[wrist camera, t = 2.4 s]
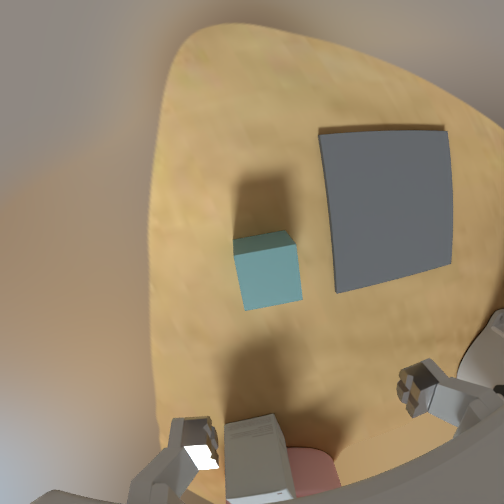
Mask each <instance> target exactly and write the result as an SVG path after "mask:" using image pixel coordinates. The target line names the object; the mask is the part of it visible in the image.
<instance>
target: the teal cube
mask: <svg viewBox="0 0 504 504" xmlns="http://www.w3.org/2000/svg"><path fill="white" fill-rule="evenodd" d="M233 253H234V260H235V265H236V270H237V275H238V280H239V285H240V290H241V295H242V299H243V304H244V309H245V311H247V310H253V309H258V308H263V307H269V306H274V305H279V304H284V303H289V302H294V301H299V300H303V299H302V290H301V281H300V272H299V264H298V256H297V248H296V244H295V242H294V241H293V240H292V238H291V237H290V236H289V235H288V233H287V232H286V231H285V230H283V231H278V232H272V233H267V234H261V235H256V236H250V237H245V238H239V239H234V240H233Z"/></svg>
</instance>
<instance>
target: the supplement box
mask: <svg viewBox="0 0 504 504" xmlns="http://www.w3.org/2000/svg"><path fill="white" fill-rule="evenodd" d="M224 443H225V487H226V500H227V501H229V502H230V503H231V504H265V503H272V502H278V501H284V500H289V499H295V498H296V492H295V487H294V482H293V478H292V473H291V468H290V463H289V458H288V453H287V448H286V443H285V438H284V436H283V433H282V431H281V429H280V426H279V424H278V422H277V420H276V417H275V415H274V414H269V415H265V416H261V417H256V418H252V419H247V420H242V421H238V422H232V423H228V424H225V425H224Z"/></svg>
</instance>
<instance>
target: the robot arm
mask: <svg viewBox="0 0 504 504" xmlns="http://www.w3.org/2000/svg"><path fill="white" fill-rule="evenodd" d="M399 377H400V381H399V382H398V383H397V395H398V397H399V399H400V401H401V402H402V403H405V404H407V405H406V410H407V411H408V413H409V414H410V416H411V417H412V418H414V417H417V416H419V415H421V414H424V413H426V412H428V413H430V414H432V415H434V416H436V417H438V418H440V419H442V420H444V421H446V422H448V423H450V424H452V425H454V426H456V427H458V428H457V430H456V432H455V434H454V436H453V439H451V440H450V441H448V442H446V443H444V444H443V445H441V446H439V447H437V448H435V449H433V450H431V451H429V452H428V453H426V454H424V455H422V456H419V457H417V458H415V459H413V460H411V461H409V462H407V463H404V464H402V465H400V466H398V467H395V468H393V469H390V470H388V471H385V472H383V473H380V474H378V475H375V476H372V477H370V478H367V479H364V480H361V481H358V482H355V483H352V484H349V485H346V486H342V487H339V488H336V489H332V490H329V491H325V492H321V493H317V494H313V495H309V496H304V497H299V498H295V499H289V500H284V501H278V502H272V503H265V504H504V309H500V310H497V311H496V312H495V313H494V314H493V315H492V317H491V319H490V321H489V322H488V324H487V326H486V327H485V329H484V330H483V331H482V332H481V334H480V335H479V336H478V337H477V338H476V340H475V341H474V342H473V344H472V345H471V346H470V348H469V349H468V351H467V353H466V354H465V356H464V358H463V360H462V362H461V364H460V367H459V369H458V373H457V378H453V377H450V378H448V376H447V375H446V374H445V373H444V372H443V371H442V370H441V369H440V368H439V367H438V366H437V365H436V363H435V362H434V361H433V360H432V359H430V358H428V359H426V360H423V361H421V362H418V363H416V364H414V365H411V366H409V367H406V368H404V369H401V371H400V372H399ZM217 448H218V436H217V432H216V430H215V427H213V426H212V420H211V418H210V416H201V417H185V418H173V420H172V423H171V429H170V435H169V442H168V448H164V449H163V450H162V451H161V452H160V453H159V454H158V455H157V456H156V457H155V458H154V459H153V460H152V461H151V462H150V463H149V464H148V465H147V466H146V467H145V468H144V469H143V470H142V471H141V472H140V473H139V474H138V475H137V476H136V477H135V478H134V479H133V480H132V481H131V485H130V490H129V495H128V500H127V504H185V503H184V502H183V501H182V500H181V499H180V497H181V495H182V494H183V493H184V491H185V490H186V488H187V487H188V486H189V484H190V483H191V481H192V480H193V478H194V477H195V476H196V474H197V473H198V471H199V469H211V468H219V455H218V453H217V451H216V450H217ZM30 504H121V503H114V502H108V501H103V500H97V499H93V498H88V497H84V496H79V495H75V494H71V493H68V492H64V491H60V490H51V491H49V492H47V493H46V494H44V495H42V496H41V497H39V498H38V499H36V500H35V501H33V502H31V503H30Z"/></svg>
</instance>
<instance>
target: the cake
mask: <svg viewBox="0 0 504 504" xmlns="http://www.w3.org/2000/svg"><path fill="white" fill-rule="evenodd" d="M287 453H288V458H289V463H290V468H291V473H292V478H293V482H294V487H295V492H296V498H299V497H304V496H309V495H313V494H317V493H321V492H325V491H329V490H332V489H336V488H339V487H341V483H340V480H339V477H338V475H337V471H336V468H335V465H334V463H333V460H332V458H331V457H330V456H329V455H328V454H326V453H325V452H323V451H320V450H317V449H313V448H298V447H293V448H287ZM226 504H231V503H230V502H229V501H227V500H226Z"/></svg>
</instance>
